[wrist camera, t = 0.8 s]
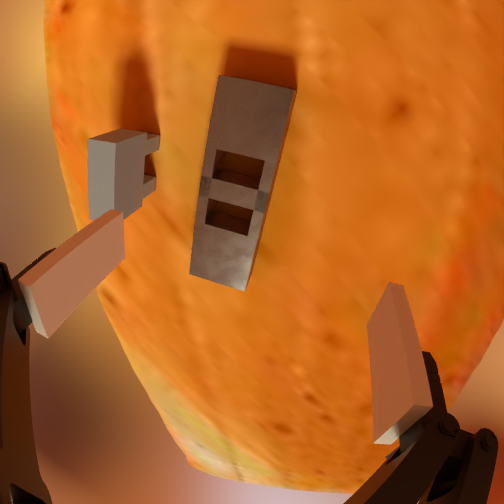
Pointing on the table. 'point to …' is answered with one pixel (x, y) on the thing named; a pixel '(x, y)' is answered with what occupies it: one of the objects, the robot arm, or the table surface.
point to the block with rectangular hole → (238, 177)
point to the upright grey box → (119, 171)
